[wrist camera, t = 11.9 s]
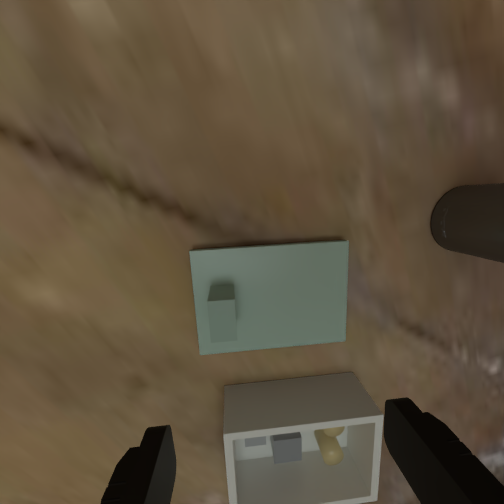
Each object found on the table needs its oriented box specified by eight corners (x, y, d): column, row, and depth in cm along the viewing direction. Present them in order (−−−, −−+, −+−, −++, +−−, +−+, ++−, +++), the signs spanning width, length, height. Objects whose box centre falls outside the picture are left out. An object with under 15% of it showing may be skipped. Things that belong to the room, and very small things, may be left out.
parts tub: (352, 371, 39) (383, 414, 31) (349, 444, 42) (377, 500, 34) (224, 385, 38) (223, 434, 30) (230, 460, 41) (230, 522, 33)
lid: (340, 238, 35) (369, 248, 28) (338, 332, 38) (363, 363, 31) (192, 247, 33) (181, 261, 26) (202, 344, 36) (195, 381, 29)
